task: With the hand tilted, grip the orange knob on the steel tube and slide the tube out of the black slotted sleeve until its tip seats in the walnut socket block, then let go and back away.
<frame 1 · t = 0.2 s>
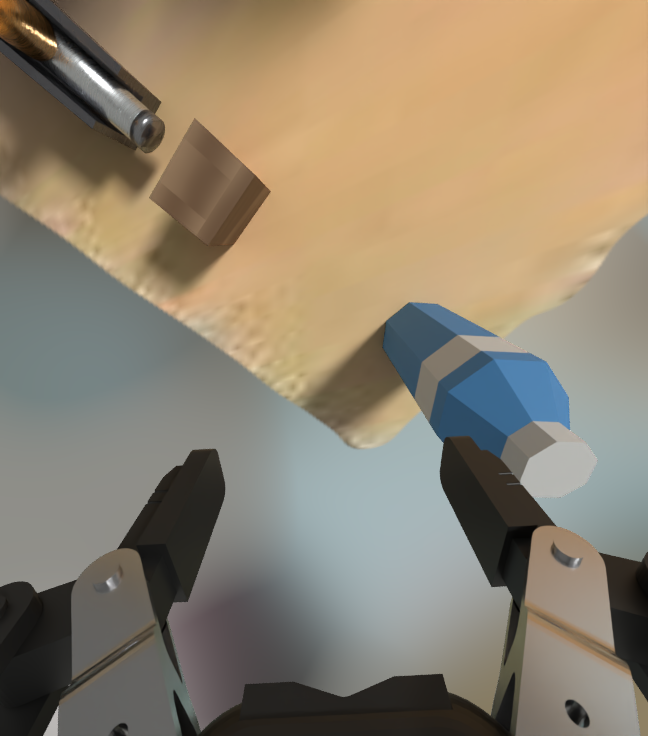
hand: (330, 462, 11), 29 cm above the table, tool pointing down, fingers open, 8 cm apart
water bottle: (416, 335, 40), on the table
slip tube: (23, 28, 21), point 8 cm above the table, slide at 0.0 cm
socket block: (218, 194, 29), on the table
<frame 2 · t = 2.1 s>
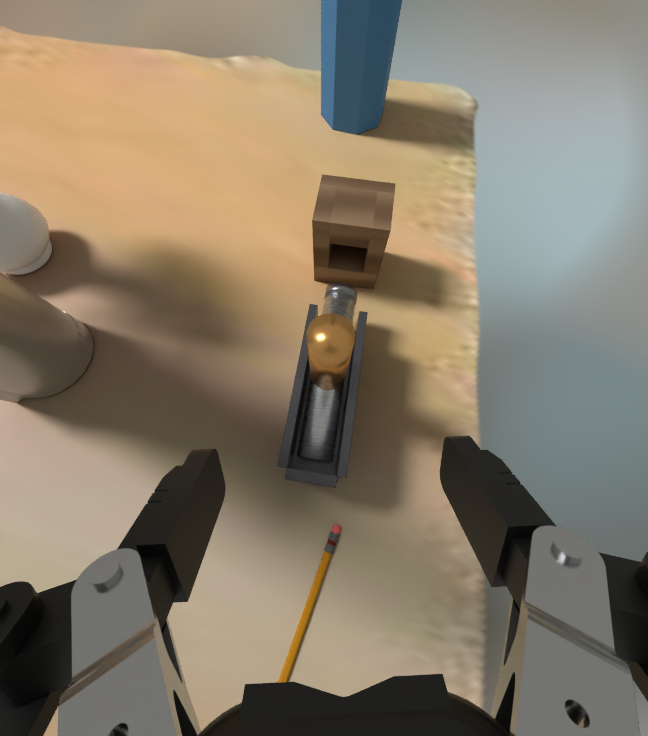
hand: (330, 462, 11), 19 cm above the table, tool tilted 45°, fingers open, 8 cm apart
pencil: (295, 643, 25), on the table
sleeve: (313, 471, 29), on the table
water bottle: (352, 114, 45), on the table
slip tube: (330, 352, 24), point 8 cm above the table, slide at 0.0 cm
flower vase: (34, 255, 36), on the table
socket block: (350, 237, 32), on the table
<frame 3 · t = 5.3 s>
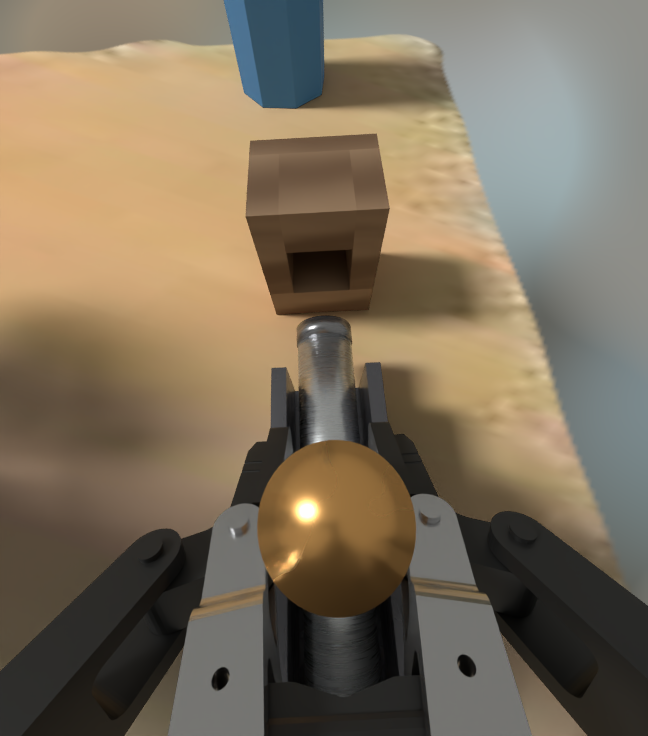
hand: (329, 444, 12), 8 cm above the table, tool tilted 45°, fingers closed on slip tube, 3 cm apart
sleeve: (342, 667, 15), on the table
water bottle: (285, 86, 34), on the table
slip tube: (332, 474, 11), point 8 cm above the table, slide at 0.0 cm, touching gripper
socket block: (318, 238, 20), on the table
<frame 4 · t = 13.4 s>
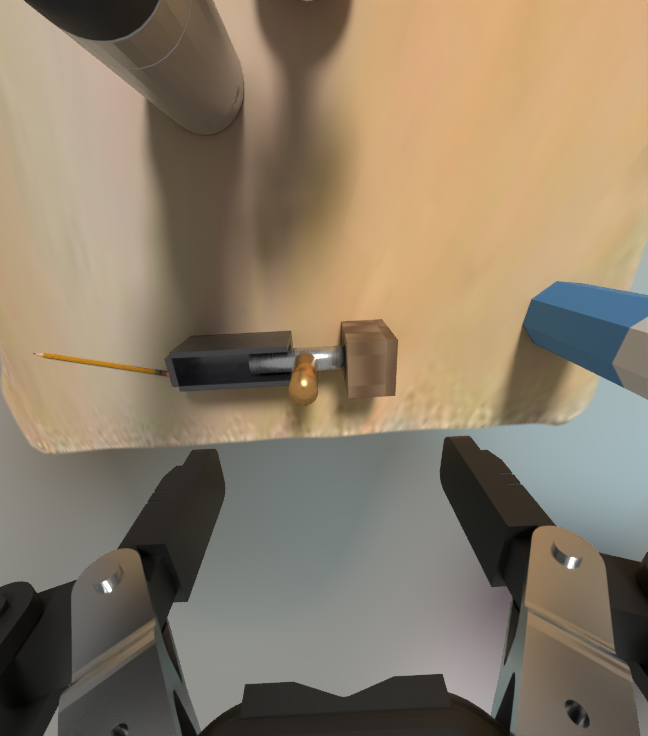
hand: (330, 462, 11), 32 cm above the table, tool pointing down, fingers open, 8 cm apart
pencil: (106, 362, 44), on the table
sleeve: (194, 353, 43), on the table
water bottle: (556, 314, 42), on the table
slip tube: (313, 370, 35), point 8 cm above the table, slide at 8.0 cm
socket block: (366, 356, 39), on the table
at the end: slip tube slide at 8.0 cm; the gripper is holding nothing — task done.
